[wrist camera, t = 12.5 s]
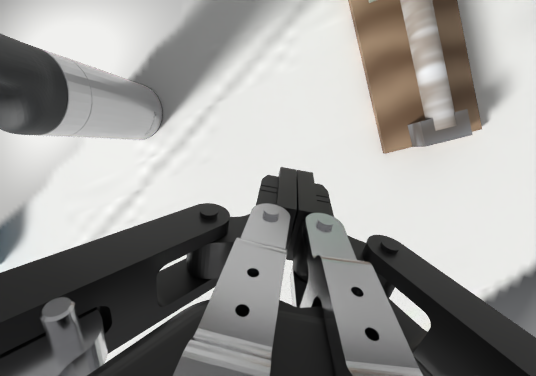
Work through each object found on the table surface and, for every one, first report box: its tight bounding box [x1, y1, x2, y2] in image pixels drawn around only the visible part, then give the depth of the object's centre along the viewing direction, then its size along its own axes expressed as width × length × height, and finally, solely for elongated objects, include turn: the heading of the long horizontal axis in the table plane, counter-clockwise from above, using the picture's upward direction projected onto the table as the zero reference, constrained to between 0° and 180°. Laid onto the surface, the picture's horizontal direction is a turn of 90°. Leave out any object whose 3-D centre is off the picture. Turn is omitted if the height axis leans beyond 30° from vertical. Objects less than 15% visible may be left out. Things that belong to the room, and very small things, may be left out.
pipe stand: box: [348, 0, 482, 153], centre depth 33 cm, size 34×12×7 cm, turn 15°
